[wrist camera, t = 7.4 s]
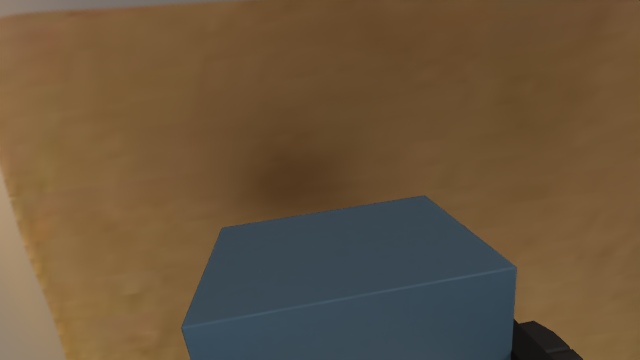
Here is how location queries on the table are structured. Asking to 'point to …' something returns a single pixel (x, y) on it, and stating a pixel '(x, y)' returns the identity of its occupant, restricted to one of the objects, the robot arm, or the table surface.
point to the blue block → (354, 289)
